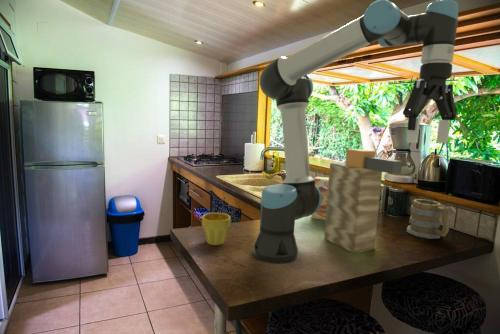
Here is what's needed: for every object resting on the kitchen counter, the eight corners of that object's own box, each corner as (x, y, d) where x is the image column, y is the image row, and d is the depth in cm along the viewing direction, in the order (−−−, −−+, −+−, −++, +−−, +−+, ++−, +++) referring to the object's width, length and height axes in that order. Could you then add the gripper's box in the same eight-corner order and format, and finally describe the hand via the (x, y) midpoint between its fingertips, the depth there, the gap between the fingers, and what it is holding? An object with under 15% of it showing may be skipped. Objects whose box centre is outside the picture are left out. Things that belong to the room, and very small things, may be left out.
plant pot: (217, 249, 115) (218, 222, 113) (195, 242, 120) (196, 216, 119) (235, 241, 123) (236, 216, 122) (213, 235, 129) (214, 210, 128)
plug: (403, 173, 108) (404, 154, 107) (390, 173, 105) (392, 155, 104) (357, 164, 125) (358, 149, 124) (345, 165, 122) (346, 149, 122)
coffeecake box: (310, 218, 158) (313, 178, 155) (313, 214, 164) (316, 176, 162) (343, 223, 152) (346, 181, 150) (344, 219, 159) (348, 179, 156)
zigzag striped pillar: (374, 249, 122) (382, 168, 117) (354, 253, 117) (362, 169, 113) (343, 235, 136) (349, 162, 131) (324, 238, 131) (330, 163, 127)
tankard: (400, 229, 147) (404, 196, 145) (424, 228, 150) (428, 195, 148) (436, 246, 127) (440, 208, 125) (462, 244, 131) (467, 207, 129)
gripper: (420, 55, 79) (411, 143, 82) (476, 67, 92) (466, 143, 94) (393, 59, 86) (385, 141, 89) (449, 70, 98) (440, 142, 101)
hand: (427, 142), depth 92 cm, fingers open, 13 cm apart
